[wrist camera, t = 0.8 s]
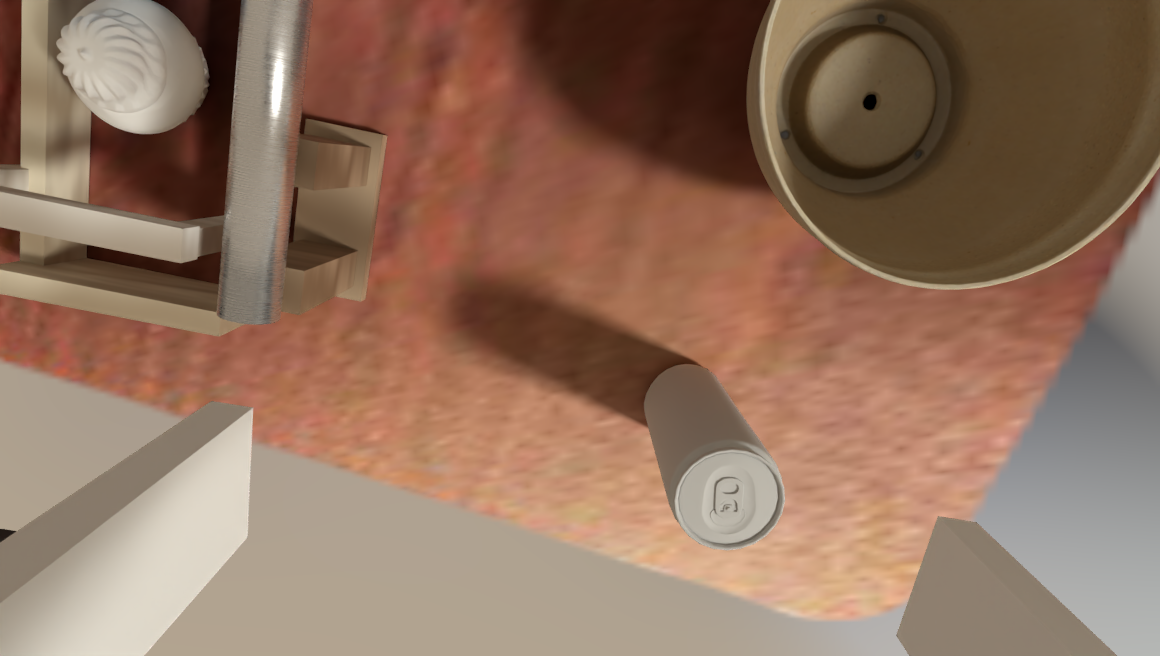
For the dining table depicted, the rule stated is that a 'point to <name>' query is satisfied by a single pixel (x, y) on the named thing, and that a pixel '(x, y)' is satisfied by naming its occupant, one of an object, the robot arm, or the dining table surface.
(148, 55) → the white lumpy mound
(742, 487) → the beverage can
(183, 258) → the beige open frame
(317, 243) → the cream cubby shelf
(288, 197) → the hammer
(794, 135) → the planter bowl
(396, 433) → the dining table surface
